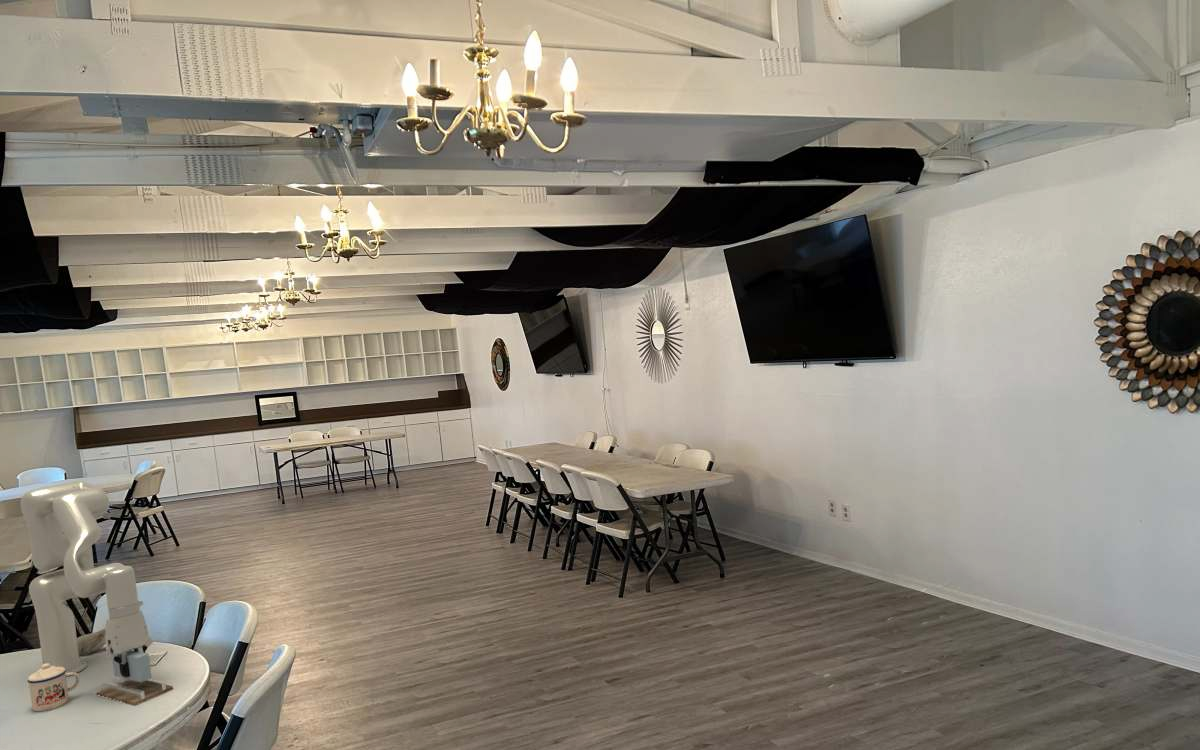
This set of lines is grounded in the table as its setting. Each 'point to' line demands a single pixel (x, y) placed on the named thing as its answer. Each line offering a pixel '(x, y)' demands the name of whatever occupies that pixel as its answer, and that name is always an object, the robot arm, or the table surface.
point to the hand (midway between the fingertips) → (132, 673)
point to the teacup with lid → (49, 687)
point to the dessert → (157, 653)
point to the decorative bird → (91, 642)
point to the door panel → (135, 666)
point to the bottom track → (134, 690)
